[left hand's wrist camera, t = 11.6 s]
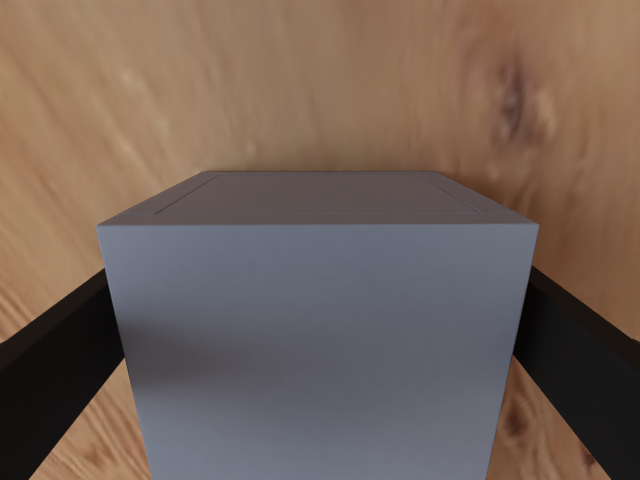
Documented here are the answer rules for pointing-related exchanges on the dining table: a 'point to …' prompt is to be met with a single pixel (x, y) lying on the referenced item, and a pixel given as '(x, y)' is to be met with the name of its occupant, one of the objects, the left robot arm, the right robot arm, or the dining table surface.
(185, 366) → the cabinet
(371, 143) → the dining table surface
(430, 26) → the dining table surface
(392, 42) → the dining table surface
